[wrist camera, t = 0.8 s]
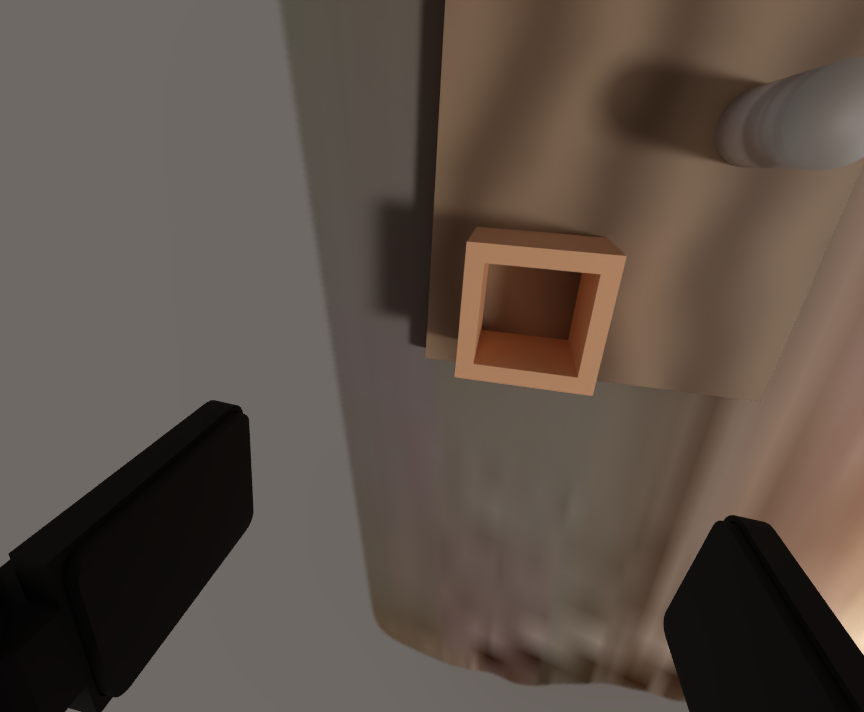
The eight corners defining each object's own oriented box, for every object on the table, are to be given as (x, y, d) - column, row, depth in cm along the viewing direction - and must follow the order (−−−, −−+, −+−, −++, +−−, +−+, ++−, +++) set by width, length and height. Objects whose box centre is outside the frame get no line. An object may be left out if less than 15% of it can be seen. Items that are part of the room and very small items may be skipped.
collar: (606, 237, 23) (626, 256, 19) (580, 355, 26) (592, 395, 22) (476, 226, 24) (466, 241, 20) (465, 341, 27) (454, 377, 23)
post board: (920, -25, 18) (1150, -131, 12) (748, 389, 27) (824, 466, 20) (452, -25, 21) (420, -111, 15) (429, 348, 30) (402, 404, 23)
